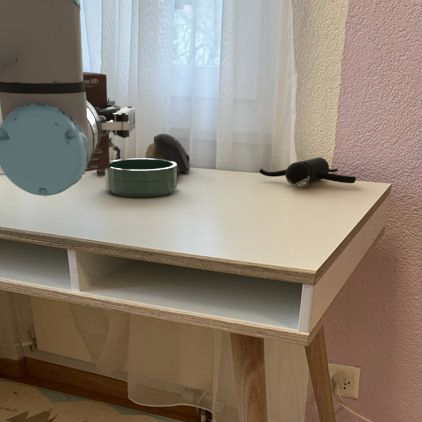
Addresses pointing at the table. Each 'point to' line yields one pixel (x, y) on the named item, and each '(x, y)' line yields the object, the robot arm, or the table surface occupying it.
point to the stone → (153, 153)
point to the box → (98, 98)
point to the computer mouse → (172, 151)
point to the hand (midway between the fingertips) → (85, 111)
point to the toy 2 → (309, 173)
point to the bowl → (141, 177)
